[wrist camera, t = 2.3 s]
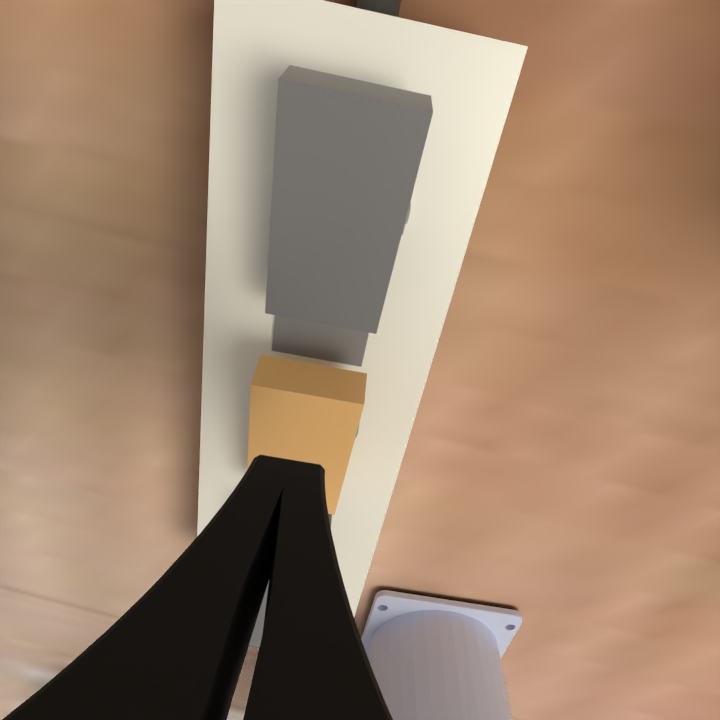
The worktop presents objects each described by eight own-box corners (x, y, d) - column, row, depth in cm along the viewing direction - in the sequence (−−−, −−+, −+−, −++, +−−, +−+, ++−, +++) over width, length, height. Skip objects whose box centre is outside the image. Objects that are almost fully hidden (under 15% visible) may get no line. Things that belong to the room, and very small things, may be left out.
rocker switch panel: (356, 555, 25) (352, 638, 21) (218, 533, 25) (189, 614, 21) (578, -243, 11) (675, -400, 8) (272, -324, 11) (215, -533, 7)
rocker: (378, 307, 14) (376, 333, 13) (274, 288, 14) (264, 313, 13) (430, 95, 10) (432, 111, 9) (289, 65, 10) (278, 78, 9)
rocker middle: (338, 484, 18) (334, 514, 17) (254, 470, 17) (246, 500, 16) (367, 373, 14) (364, 404, 13) (261, 354, 14) (250, 384, 13)
